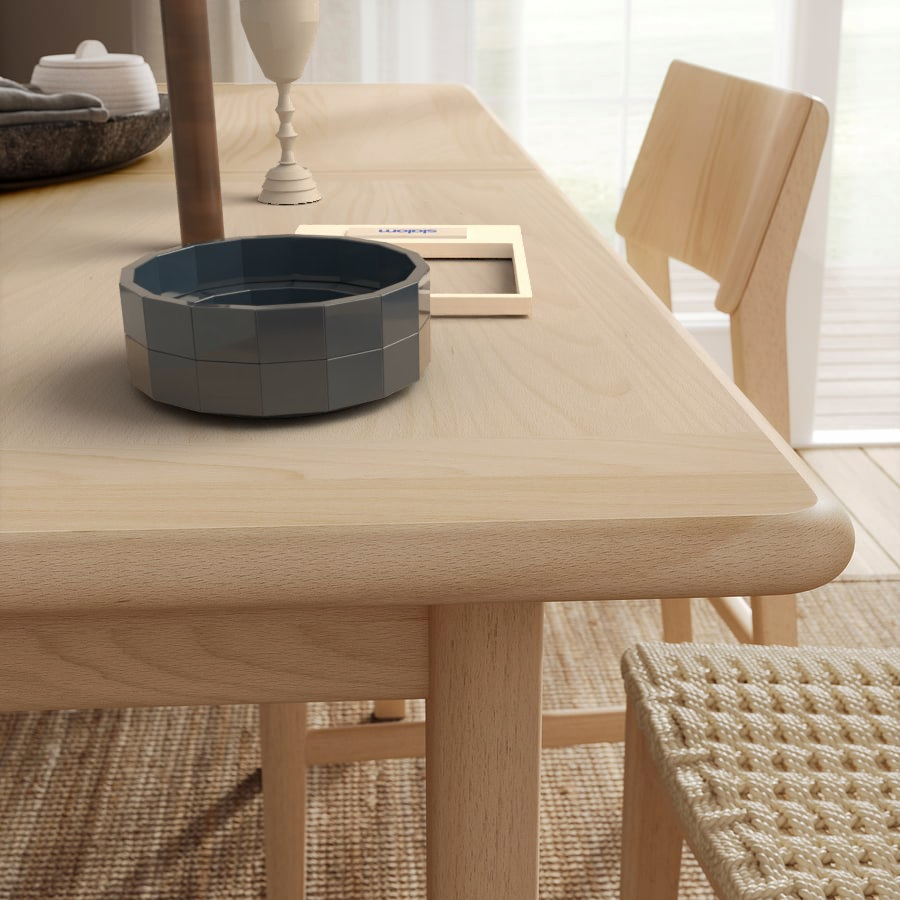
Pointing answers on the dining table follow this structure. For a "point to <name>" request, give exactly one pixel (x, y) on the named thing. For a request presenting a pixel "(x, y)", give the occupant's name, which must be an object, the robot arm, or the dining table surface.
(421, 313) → the bowl
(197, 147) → the stirring stick
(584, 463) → the dining table surface
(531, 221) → the dining table surface
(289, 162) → the chalice
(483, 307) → the photo frame
